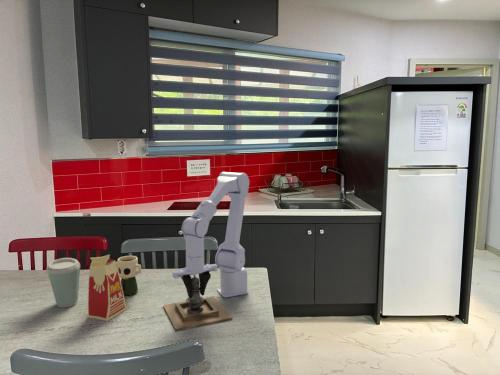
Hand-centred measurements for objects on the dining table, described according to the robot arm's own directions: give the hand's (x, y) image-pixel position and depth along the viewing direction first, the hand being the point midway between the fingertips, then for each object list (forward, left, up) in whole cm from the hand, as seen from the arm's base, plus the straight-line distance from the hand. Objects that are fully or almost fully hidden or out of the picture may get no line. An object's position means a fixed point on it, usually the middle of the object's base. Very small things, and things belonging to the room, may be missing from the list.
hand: (196, 295), depth 129 cm
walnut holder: (0, 0, -6) cm, 6 cm away
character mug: (+18, -26, -6) cm, 32 cm away
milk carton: (+27, -12, -6) cm, 30 cm away
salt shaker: (0, -1, -6) cm, 6 cm away
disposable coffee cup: (+39, -25, -6) cm, 47 cm away
